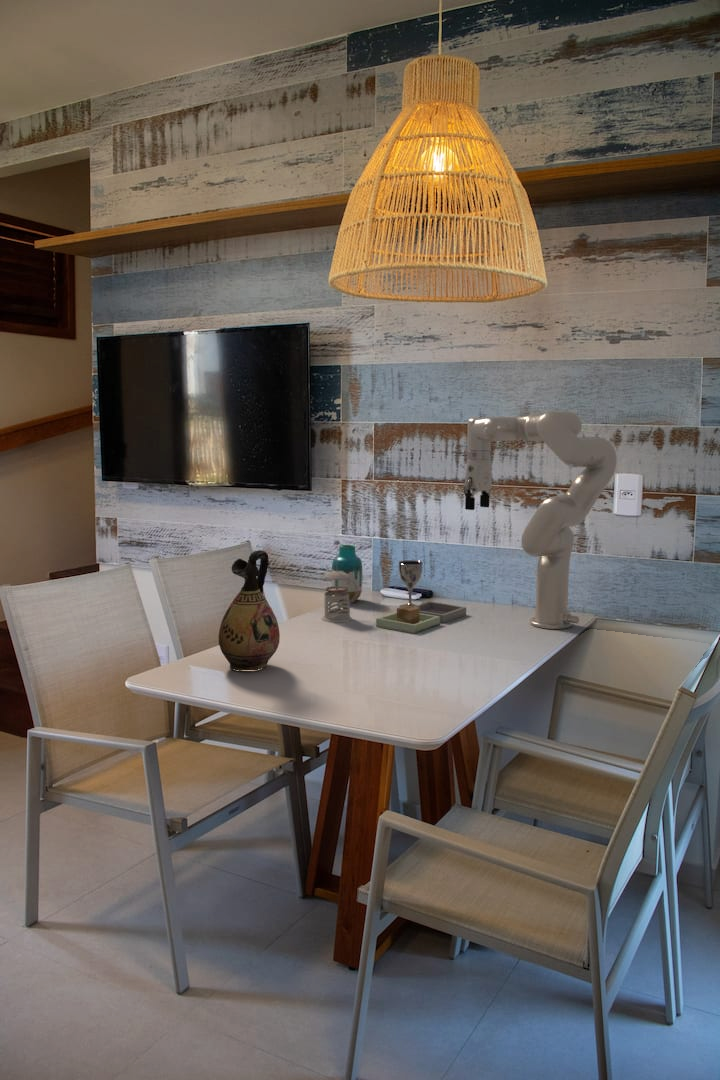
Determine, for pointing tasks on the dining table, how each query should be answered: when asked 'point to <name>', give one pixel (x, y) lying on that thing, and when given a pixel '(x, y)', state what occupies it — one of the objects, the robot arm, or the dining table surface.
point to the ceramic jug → (249, 619)
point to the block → (408, 614)
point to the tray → (393, 624)
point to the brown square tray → (442, 610)
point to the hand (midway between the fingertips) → (477, 508)
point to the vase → (348, 570)
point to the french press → (337, 598)
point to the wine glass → (410, 576)
